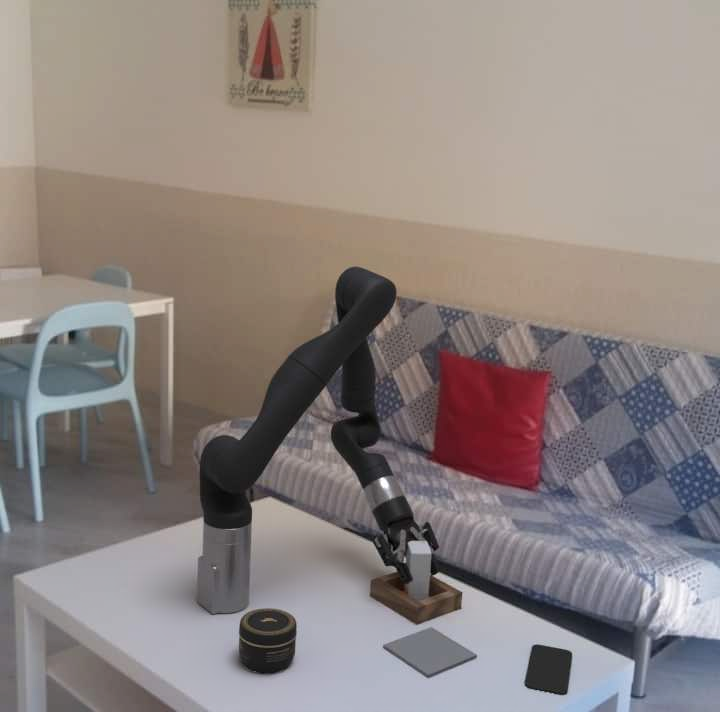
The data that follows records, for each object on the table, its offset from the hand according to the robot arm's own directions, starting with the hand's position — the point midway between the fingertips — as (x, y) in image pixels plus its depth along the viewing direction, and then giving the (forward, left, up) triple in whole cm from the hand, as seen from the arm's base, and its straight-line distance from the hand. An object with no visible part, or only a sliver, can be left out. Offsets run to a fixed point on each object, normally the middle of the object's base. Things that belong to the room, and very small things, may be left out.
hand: (422, 577), depth 191 cm
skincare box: (0, +2, -6) cm, 6 cm away
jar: (-37, 0, -6) cm, 38 cm away
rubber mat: (-11, -14, -6) cm, 19 cm away
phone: (+3, -30, -6) cm, 31 cm away
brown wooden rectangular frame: (0, +2, -6) cm, 6 cm away
